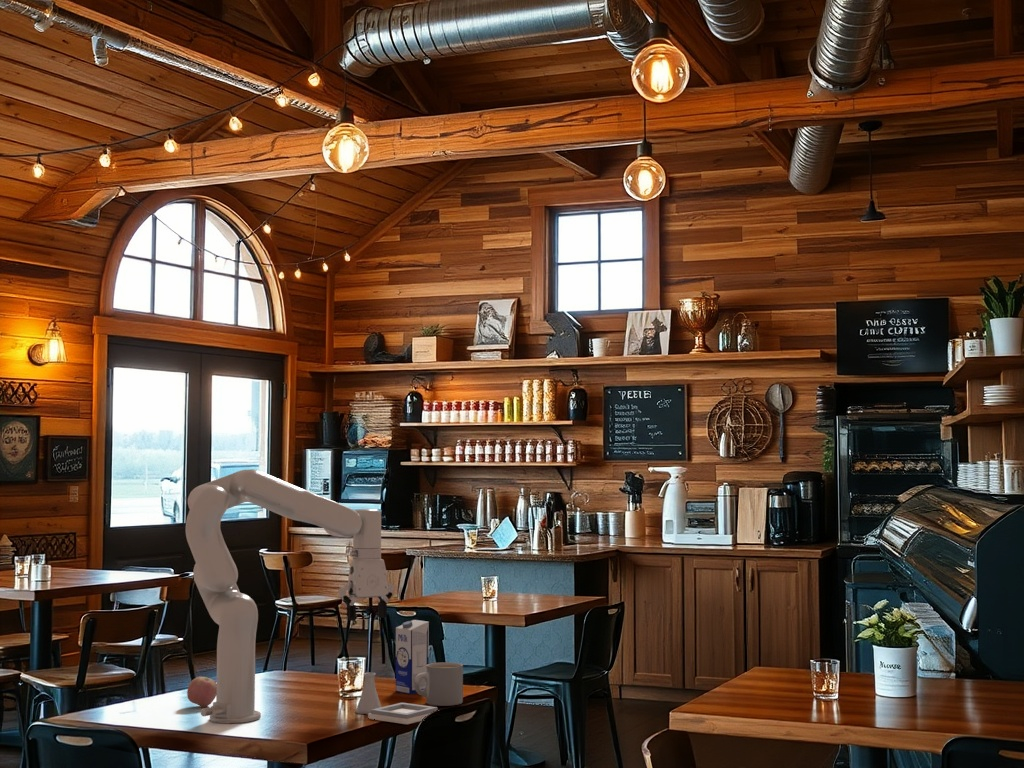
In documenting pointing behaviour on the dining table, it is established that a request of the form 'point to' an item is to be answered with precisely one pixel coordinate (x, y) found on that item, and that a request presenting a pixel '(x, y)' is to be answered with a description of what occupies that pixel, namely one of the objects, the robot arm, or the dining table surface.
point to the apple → (202, 691)
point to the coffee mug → (442, 684)
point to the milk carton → (411, 654)
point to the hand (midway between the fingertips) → (366, 618)
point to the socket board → (401, 713)
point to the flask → (368, 695)
